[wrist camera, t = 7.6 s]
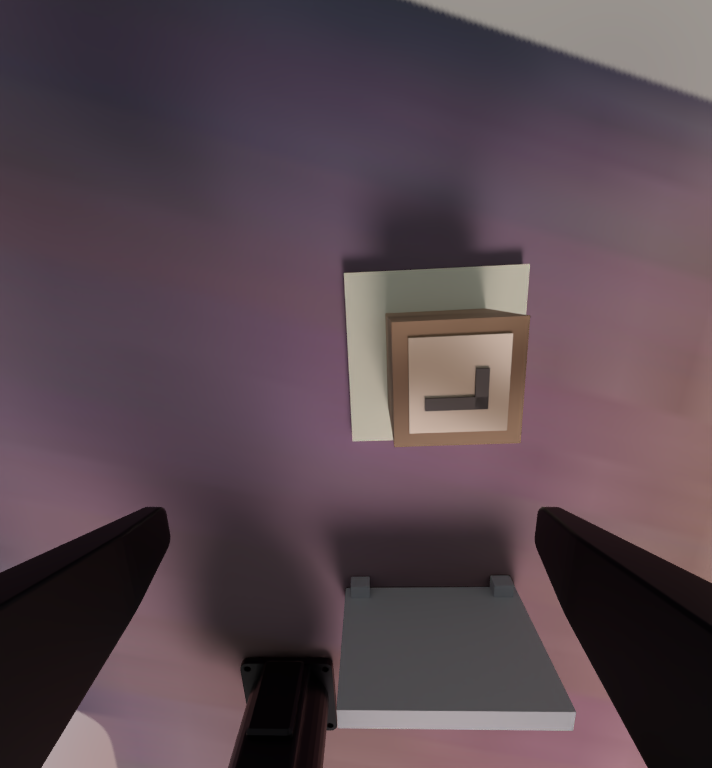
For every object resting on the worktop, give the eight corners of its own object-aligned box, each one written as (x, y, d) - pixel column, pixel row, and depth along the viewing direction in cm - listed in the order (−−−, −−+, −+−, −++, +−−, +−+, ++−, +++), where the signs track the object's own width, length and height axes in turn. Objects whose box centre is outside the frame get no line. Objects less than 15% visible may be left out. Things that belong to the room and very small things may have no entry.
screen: (512, 612, 23) (570, 743, 17) (347, 613, 24) (339, 741, 17) (515, 575, 23) (578, 697, 16) (345, 576, 23) (335, 696, 16)
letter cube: (481, 403, 19) (522, 445, 14) (388, 407, 19) (394, 449, 14) (485, 308, 17) (532, 316, 12) (385, 313, 18) (391, 322, 13)
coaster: (510, 431, 20) (516, 436, 19) (353, 435, 20) (352, 441, 20) (522, 265, 18) (529, 264, 17) (344, 273, 18) (343, 273, 17)
